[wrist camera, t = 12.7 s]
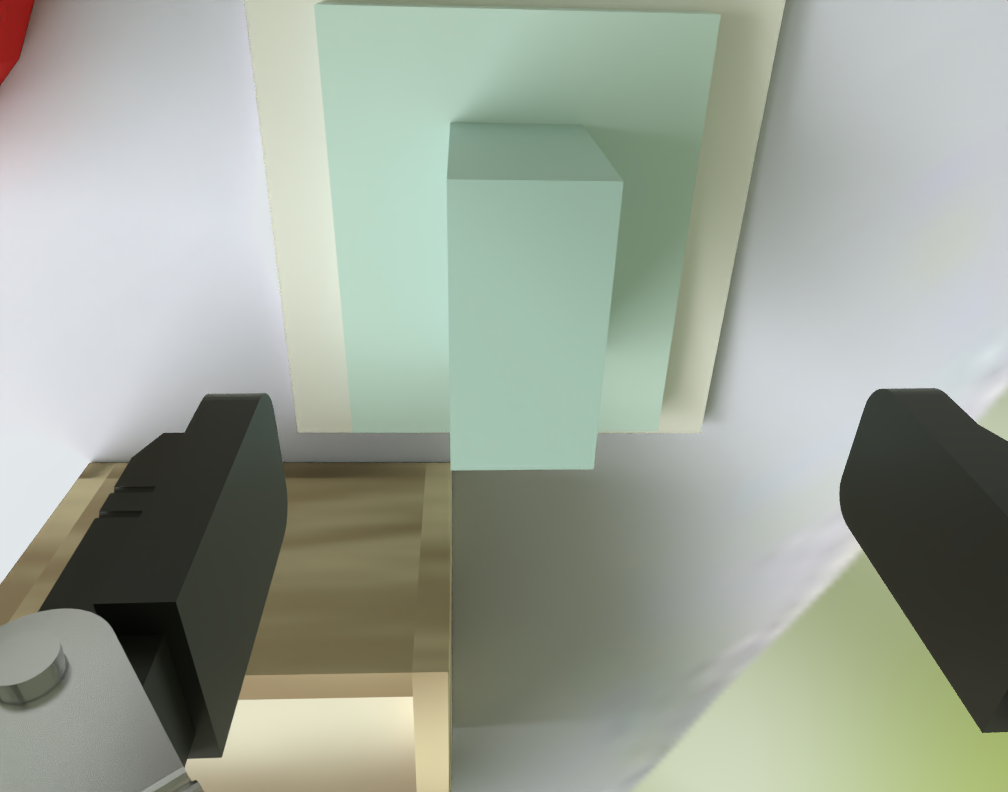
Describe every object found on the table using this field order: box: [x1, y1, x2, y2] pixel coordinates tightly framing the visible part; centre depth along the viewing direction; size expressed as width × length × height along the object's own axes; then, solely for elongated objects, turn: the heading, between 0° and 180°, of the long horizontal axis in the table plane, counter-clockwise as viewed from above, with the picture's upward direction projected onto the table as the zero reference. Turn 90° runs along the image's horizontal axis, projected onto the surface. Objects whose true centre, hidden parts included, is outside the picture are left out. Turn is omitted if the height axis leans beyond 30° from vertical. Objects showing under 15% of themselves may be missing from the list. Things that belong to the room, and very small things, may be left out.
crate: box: [0, 463, 452, 792], centre depth 23 cm, size 13×11×8 cm
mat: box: [244, 0, 786, 433], centre depth 20 cm, size 12×12×1 cm
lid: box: [314, 2, 721, 470], centre depth 17 cm, size 11×9×6 cm
